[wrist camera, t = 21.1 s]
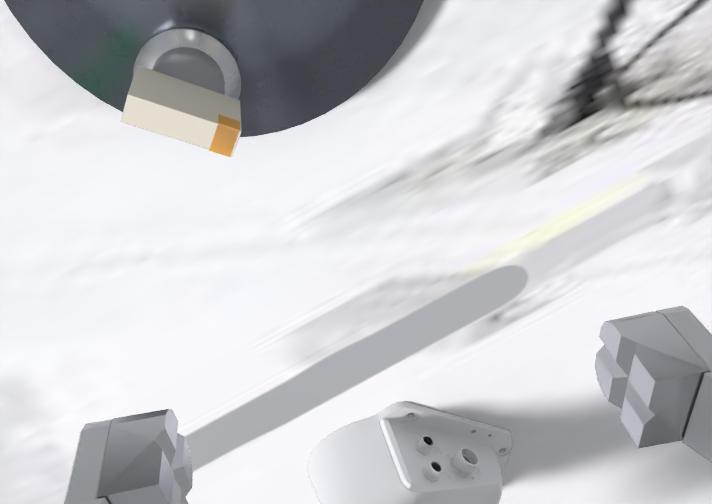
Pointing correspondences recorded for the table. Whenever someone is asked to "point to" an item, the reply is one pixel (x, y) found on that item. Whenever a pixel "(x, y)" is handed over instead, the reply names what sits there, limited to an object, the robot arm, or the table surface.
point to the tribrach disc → (227, 47)
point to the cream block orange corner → (185, 101)
